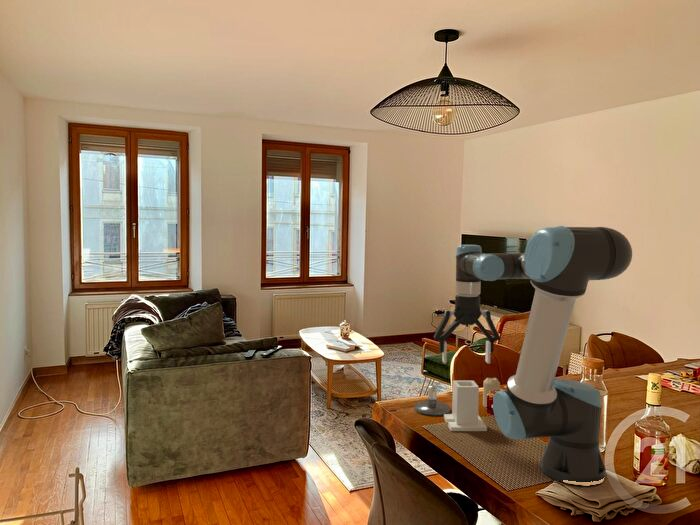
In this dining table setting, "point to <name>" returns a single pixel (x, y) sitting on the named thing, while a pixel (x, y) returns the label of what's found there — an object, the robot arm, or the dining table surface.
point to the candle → (489, 388)
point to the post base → (432, 411)
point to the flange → (465, 408)
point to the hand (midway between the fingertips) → (465, 362)
